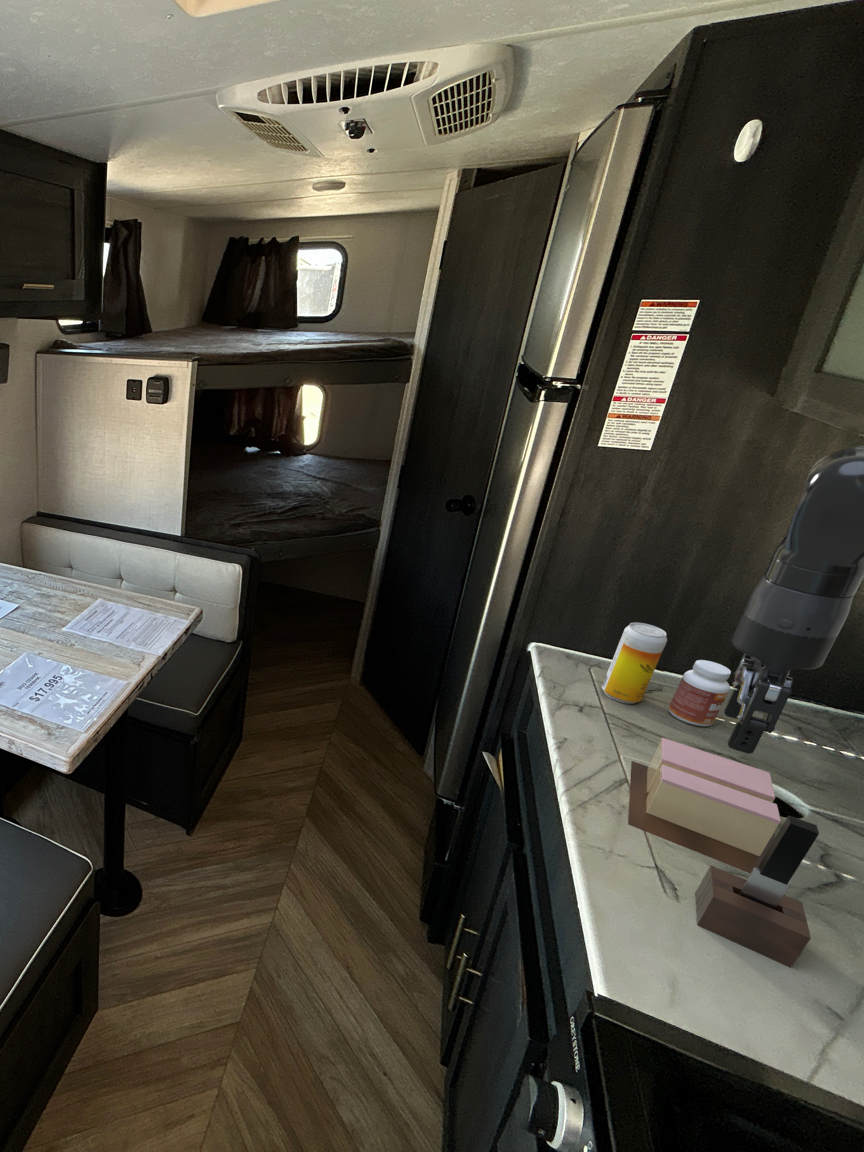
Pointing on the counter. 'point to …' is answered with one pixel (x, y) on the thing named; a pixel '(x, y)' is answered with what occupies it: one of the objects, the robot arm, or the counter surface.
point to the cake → (710, 769)
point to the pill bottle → (701, 693)
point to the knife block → (751, 918)
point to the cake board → (683, 828)
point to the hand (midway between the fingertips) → (736, 732)
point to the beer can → (634, 662)
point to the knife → (780, 863)
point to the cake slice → (713, 810)
